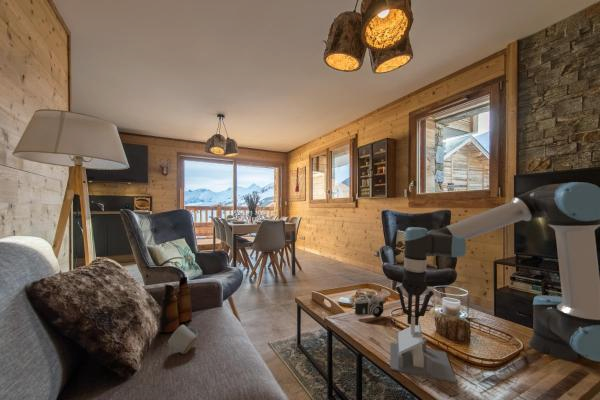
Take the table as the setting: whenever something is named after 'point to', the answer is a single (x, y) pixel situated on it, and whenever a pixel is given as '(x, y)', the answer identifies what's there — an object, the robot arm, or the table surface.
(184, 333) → the ceramic mug
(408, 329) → the cover
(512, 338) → the table surface
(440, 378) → the grey open box
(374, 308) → the camera
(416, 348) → the pale wooden block
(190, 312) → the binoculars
